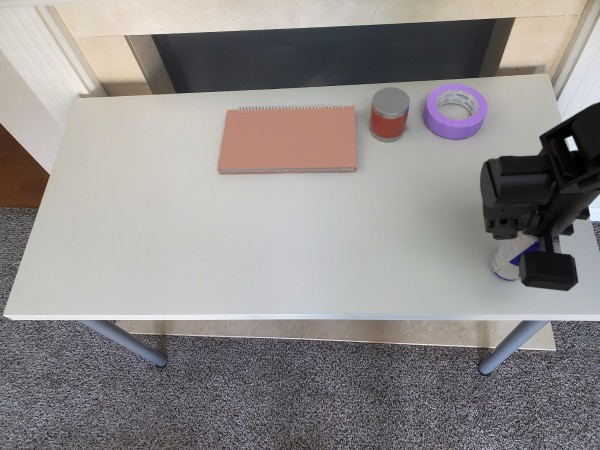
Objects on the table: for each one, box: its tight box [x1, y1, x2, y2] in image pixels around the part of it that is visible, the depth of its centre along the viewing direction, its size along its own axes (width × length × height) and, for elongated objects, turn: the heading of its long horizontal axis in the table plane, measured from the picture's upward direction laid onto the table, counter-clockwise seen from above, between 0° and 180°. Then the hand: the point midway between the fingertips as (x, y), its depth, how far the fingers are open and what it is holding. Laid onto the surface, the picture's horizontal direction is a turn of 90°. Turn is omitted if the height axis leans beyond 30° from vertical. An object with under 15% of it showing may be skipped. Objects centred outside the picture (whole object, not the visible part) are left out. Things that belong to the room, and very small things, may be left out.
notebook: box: [216, 103, 358, 175], centre depth 91 cm, size 27×17×2 cm, turn 88°
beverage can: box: [490, 231, 540, 282], centre depth 67 cm, size 5×5×15 cm
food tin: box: [369, 86, 411, 143], centre depth 87 cm, size 7×7×8 cm
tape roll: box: [423, 83, 489, 140], centre depth 89 cm, size 12×12×4 cm
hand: (519, 249), depth 68 cm, fingers closed on beverage can, 8 cm apart
